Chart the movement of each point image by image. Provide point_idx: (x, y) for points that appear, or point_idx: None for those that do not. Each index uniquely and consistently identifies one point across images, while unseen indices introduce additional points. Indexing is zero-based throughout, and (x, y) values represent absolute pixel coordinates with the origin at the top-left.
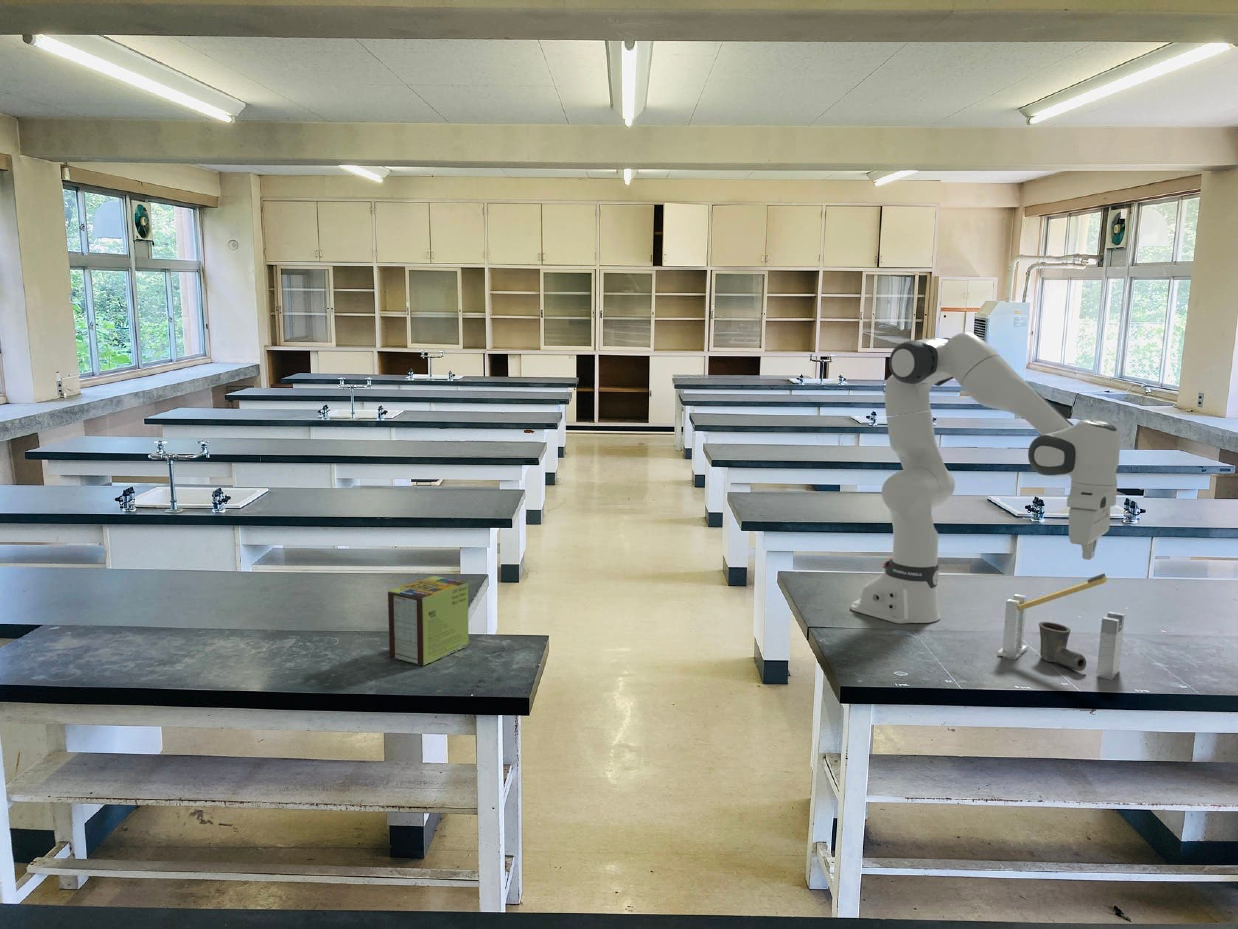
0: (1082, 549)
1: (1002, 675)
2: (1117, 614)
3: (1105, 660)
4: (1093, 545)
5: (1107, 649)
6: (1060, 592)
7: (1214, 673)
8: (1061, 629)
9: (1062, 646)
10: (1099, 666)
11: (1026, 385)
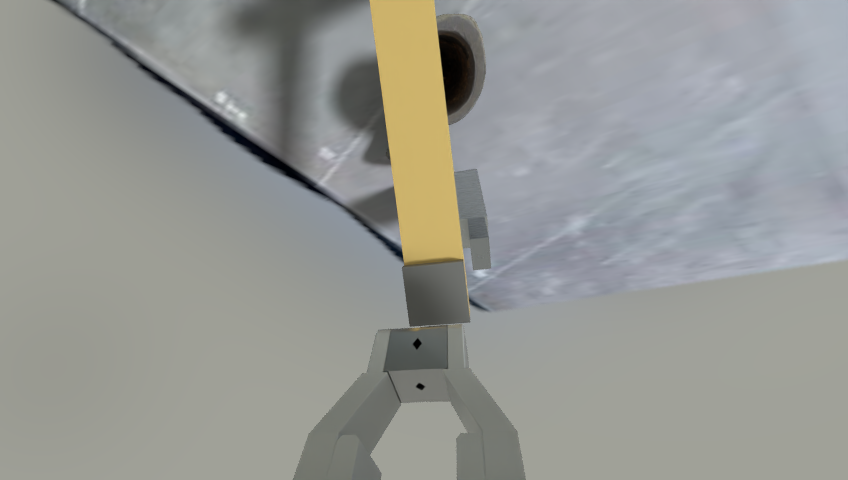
0: (352, 385)
1: (240, 36)
2: (472, 259)
3: None
4: (468, 428)
5: None
6: (388, 140)
7: (581, 286)
8: (466, 88)
9: None
10: None
11: None
